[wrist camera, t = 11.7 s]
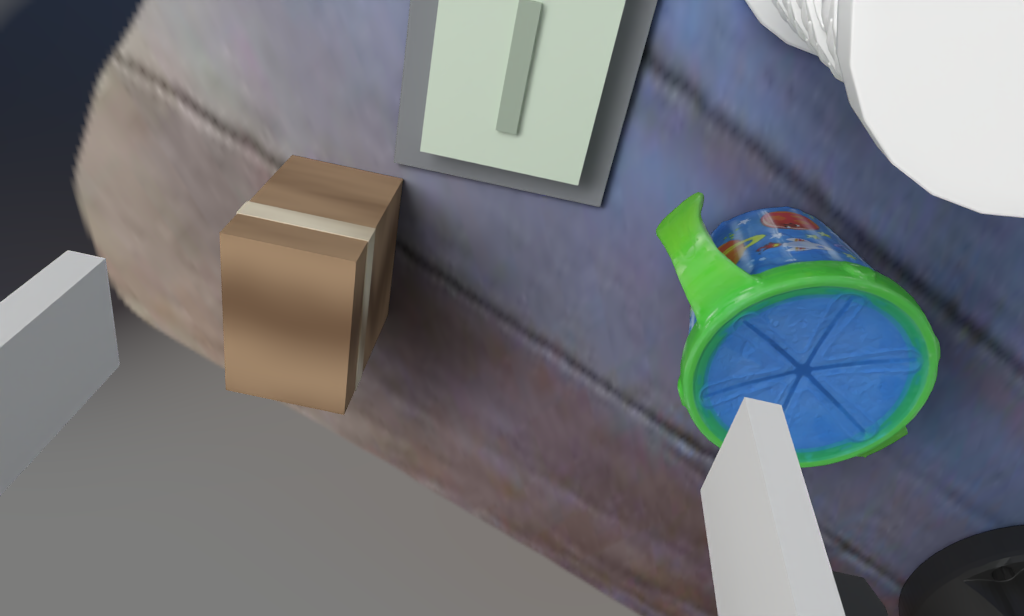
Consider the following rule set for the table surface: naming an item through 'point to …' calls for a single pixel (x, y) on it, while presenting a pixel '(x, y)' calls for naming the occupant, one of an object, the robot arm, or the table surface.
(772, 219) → the snack cup
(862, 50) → the decorative container
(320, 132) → the table surface
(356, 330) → the walnut box
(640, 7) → the mat
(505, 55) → the lid
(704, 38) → the table surface
